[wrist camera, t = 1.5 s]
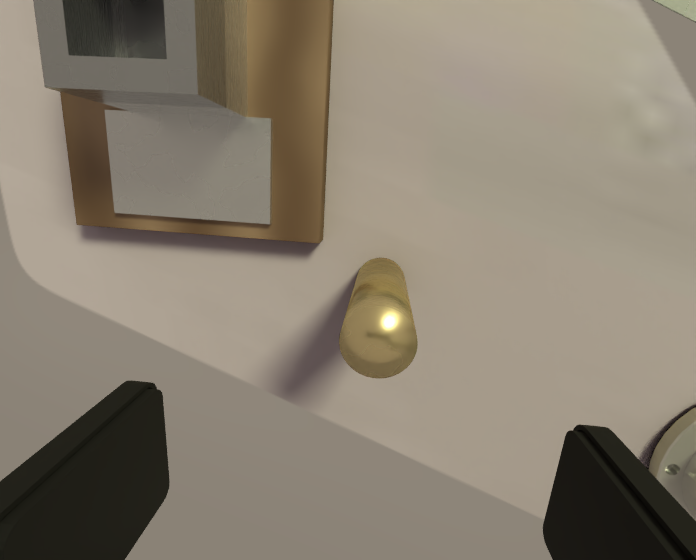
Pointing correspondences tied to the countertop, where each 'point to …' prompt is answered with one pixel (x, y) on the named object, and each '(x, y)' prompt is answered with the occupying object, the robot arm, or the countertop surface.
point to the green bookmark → (681, 7)
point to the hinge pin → (379, 322)
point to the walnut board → (263, 102)
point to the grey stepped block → (166, 102)
